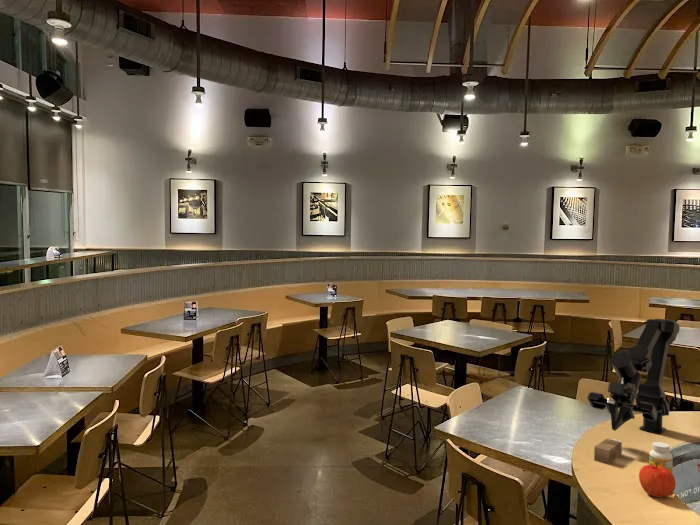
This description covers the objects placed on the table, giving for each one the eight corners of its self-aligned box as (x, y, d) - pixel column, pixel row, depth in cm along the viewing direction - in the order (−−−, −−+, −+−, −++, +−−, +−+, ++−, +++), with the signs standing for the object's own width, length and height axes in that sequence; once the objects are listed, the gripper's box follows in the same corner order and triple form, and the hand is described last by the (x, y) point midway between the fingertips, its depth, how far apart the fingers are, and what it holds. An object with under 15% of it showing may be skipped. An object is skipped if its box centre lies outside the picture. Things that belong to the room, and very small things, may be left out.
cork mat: (615, 446, 162) (615, 445, 162) (643, 454, 156) (643, 452, 156) (597, 459, 152) (597, 458, 152) (626, 467, 146) (626, 466, 146)
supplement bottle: (677, 482, 137) (677, 446, 137) (661, 485, 136) (662, 449, 135) (659, 474, 142) (660, 439, 142) (644, 476, 141) (644, 442, 140)
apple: (637, 496, 130) (637, 465, 129) (640, 484, 136) (640, 454, 136) (674, 505, 125) (675, 473, 125) (675, 492, 132) (676, 461, 131)
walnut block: (607, 437, 157) (594, 446, 151) (621, 441, 154) (608, 450, 148) (607, 450, 157) (594, 460, 151) (621, 454, 154) (608, 464, 148)
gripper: (590, 366, 165) (574, 407, 158) (654, 377, 151) (641, 423, 144) (599, 386, 171) (585, 427, 163) (662, 398, 157) (650, 443, 150)
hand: (613, 429), depth 155 cm, fingers closed
